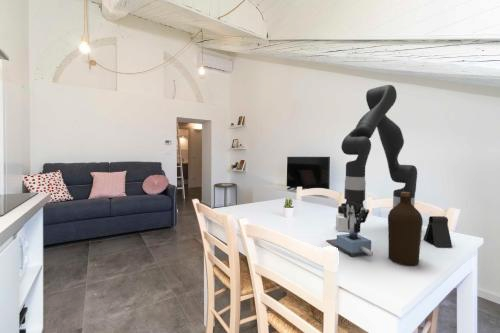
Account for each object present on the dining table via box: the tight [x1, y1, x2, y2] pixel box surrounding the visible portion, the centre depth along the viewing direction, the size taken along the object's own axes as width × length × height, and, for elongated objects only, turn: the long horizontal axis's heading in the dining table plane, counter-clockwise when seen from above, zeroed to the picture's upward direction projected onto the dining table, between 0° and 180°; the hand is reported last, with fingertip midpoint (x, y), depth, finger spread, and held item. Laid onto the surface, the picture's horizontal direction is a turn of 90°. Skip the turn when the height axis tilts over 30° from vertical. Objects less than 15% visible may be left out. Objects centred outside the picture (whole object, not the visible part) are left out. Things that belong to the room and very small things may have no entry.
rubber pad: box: [326, 238, 337, 248], centre depth 106 cm, size 7×7×1 cm
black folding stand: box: [422, 215, 453, 249], centre depth 106 cm, size 9×6×12 cm, turn 177°
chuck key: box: [348, 207, 359, 240], centre depth 97 cm, size 5×3×13 cm, turn 106°
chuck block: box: [336, 233, 374, 258], centre depth 95 cm, size 9×14×6 cm, turn 16°
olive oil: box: [387, 192, 424, 267], centre depth 89 cm, size 11×11×25 cm
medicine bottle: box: [335, 205, 350, 233], centre depth 126 cm, size 7×7×12 cm
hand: (353, 230), depth 98 cm, fingers closed on chuck key, 3 cm apart
